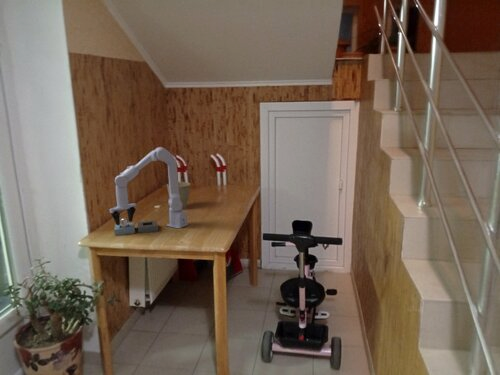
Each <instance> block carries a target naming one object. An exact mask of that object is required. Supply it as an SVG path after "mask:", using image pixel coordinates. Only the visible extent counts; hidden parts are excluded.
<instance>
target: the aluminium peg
mask: <svg viewBox="0 0 500 375" xmlns="http://www.w3.org/2000/svg"><path fill="white" fill-rule="evenodd" d="M119 221H120V224H121V228H124V227H128V223H129V219H128V217H122V218H121V217H120V218H119Z"/></svg>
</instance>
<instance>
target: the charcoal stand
mask: <svg viewBox="0 0 500 375" xmlns="http://www.w3.org/2000/svg"><path fill="white" fill-rule="evenodd" d="M137 228H138V229H137V230H138V233H139V234H140V233H141V234H143V233H151V232H158V231H159V226H158V220H147V221H138V222H137Z"/></svg>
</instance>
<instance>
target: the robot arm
mask: <svg viewBox="0 0 500 375" xmlns="http://www.w3.org/2000/svg"><path fill="white" fill-rule="evenodd" d="M157 161H161V162H164V163H165V164H166V165H167V173H168V184H169V188H170V195H169V194H168V197H169V198H168V201H167V203H168V205H169V208H168V214H169V215H168V216H169V223H168V224H166V227H171V228H175V229H181V228H184V227H187V226H188V225H189V223H188V214H187V212H186V211H185V210H184V209H182V202H181V200H180V195H179V188H178V182H179V180H178V179H179V177H178V176H179V175H178V164H177V163H178V161H177V159H176V158H175V157H174V156H173V154H172V153H171V152H170V151H169V150H167V149H166V148H164V147H163V146H158V147H156V148H155V149H153V150H151V151H150V152H149V153H148V154H146V155H145V156H144V157H143V158H142V159H141V160H140V161H138V162H137V163H136V164H135V165H130V166H129V165H128V166H127V167H126V169H125V170H123V171H122V172H120V173H119V175H117V176H116V177H115V178H114V183H115V197H116V206H114V207H112V208H109V213H110V214H111V216H112V218H113V220H114V222H115V224H116V225H120V224H121V220H120V218H121V216H120V215H121V213H119V212H120V211H126V212H127V216H128V217H127V218H128V222H129V223H133V219H134V215H135V212H136V207H137V204H136V203H129V196H128V189H127V185H128V183H129V182H130V181H132V180H133V179H134V178H135V177H137V176H138V175H139V173H140V170H142V169H143V168H144V167H145V166H147V165H148V164H149V163H151V162H157Z"/></svg>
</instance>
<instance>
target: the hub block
mask: <svg viewBox="0 0 500 375" xmlns="http://www.w3.org/2000/svg"><path fill="white" fill-rule="evenodd" d="M135 226H136V225H135V222H128V227H124V228H121V223H120V225H116V223H115V224H114V229H113V230H114V236H121V235H122V236H123V235H124V236H125V235H133V234H135V233H136V229H135V228H136V227H135Z"/></svg>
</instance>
